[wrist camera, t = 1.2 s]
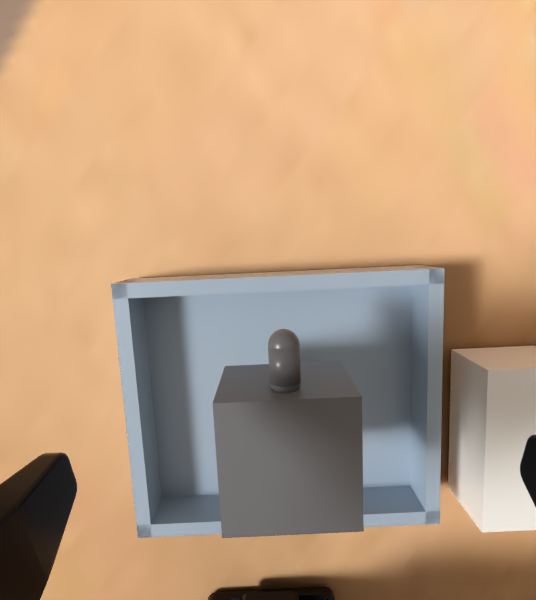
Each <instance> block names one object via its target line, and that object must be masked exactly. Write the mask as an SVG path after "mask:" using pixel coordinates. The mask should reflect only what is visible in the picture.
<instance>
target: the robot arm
mask: <svg viewBox="0 0 536 600" xmlns="http://www.w3.org/2000/svg"><path fill="white" fill-rule="evenodd" d="M520 474H521V478H522V480H523V482H524V484H525V486H526V489H527V491H528V493H529V495H530V497H531V499H532V501H533V503H534V505H535V507H536V435H531V436H530V437H529V438H528V440H527V442H526V446H525V449H524V453H523V456H522V460H521V463H520ZM76 492H77V483H76V479H75V476H74V473H73V470H72V467H71V464H70V461H69V458H68V456H67V455H66V454H65V453H45V454H42V455H40V456H39V457H37V458H36V459H35V460H33V461H32V462H30V463H29V464H28V465H26V466H25V467H23V468H22V469H21V470H19V471H18V472H17V473H15V474H14V475H12V476H11V477H10V478H8V479H7V480H6V481H4V482H3V483H1V484H0V600H40V598H41V596H42V593H43V591H44V588H45V586H46V583H47V581H48V578H49V575H50V573H51V570H52V567H53V564H54V561H55V558H56V555H57V552H58V549H59V546H60V543H61V539H62V536H63V533H64V530H65V527H66V524H67V521H68V518H69V515H70V512H71V509H72V506H73V502H74V499H75V496H76ZM325 598H326V600H335V598H334V593H333V591H332V590H331V589H330V588H327V587H315V588H293V589H272V590H251V591H229V592H215V593H212V594H211V595H210V596H209V597H208V600H322V599H325Z"/></svg>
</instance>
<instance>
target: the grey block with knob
mask: <svg viewBox="0 0 536 600" xmlns="http://www.w3.org/2000/svg"><path fill="white" fill-rule="evenodd" d="M268 359H269V364H257V365H236V366H225V367H224V370H223V373H222V376H221V379H220V382H219V385H218V388H217V391H216V394H215V397H214V400H213V418H214V432H215V446H216V460H217V474H218V488H219V502H220V517H221V531H222V538H232V537H254V536H275V535H296V534H318V533H339V532H360V531H364V525H363V438H362V396H361V394H360V392H359V391H358V389H357V388H356V386H355V385H354V383H353V381H352V380H351V378H350V377H349V375H348V373H347V372H346V370H345V369H344V367H343V366H342V364H341V362H340V361H321V362H300V343H299V339H298V337H297V335H296V334H295V333H294V332H292V331H291V330H288V329H279V330H277V331H275V332H274V333H273V334H272V335H271V336H270V338H269V341H268Z"/></svg>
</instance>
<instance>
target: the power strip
mask: <svg viewBox="0 0 536 600" xmlns="http://www.w3.org/2000/svg"><path fill="white" fill-rule="evenodd" d="M531 435H536V345H534V346H513V347H491V348H470V349H451V384H450V428H449V471H448V488H449V489H450V490H451V492H452V493H453V494H454V496H455V497H456V498H457V500H458V501H459V502H460V504H461V505H462V506H463V508H464V509H465V510H466V512H467V513H468V514H469V516H470V517H471V518H472V520H473V521H474V522H475V524H476V525H477V526H478V528H479V529H480V530H481V532H502V531H523V530H536V507H535V505H534V503H533V501H532V499H531V497H530V495H529V493H528V491H527V489H526V486H525V484H524V482H523V480H522V478H521V474H520V463H521V460H522V456H523V453H524V449H525V446H526V442H527V440H528V438H529V437H530V436H531Z"/></svg>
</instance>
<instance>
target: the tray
mask: <svg viewBox="0 0 536 600" xmlns="http://www.w3.org/2000/svg"><path fill="white" fill-rule="evenodd" d="M444 273H445V268H439V267H432V266H424V265H408V266H387V267H365V268H344V269H323V270H301V271H280V272H259V273H237V274H216V275H195V276H173V277H152V278H132V279H128V280H124V281H120V282H117V283H113V284H111V287H112V296H113V306H114V315H115V325H116V334H117V344H118V353H119V363H120V372H121V381H122V391H123V400H124V410H125V419H126V429H127V438H128V448H129V457H130V467H131V476H132V485H133V495H134V504H135V514H136V523H137V533H138V538H145V537H167V536H188V535H209V534H222V531H221V517H220V502H219V488H218V474H217V460H216V446H215V432H214V418H213V400H214V397H215V394H216V391H217V388H218V385H219V382H220V379H221V376H222V373H223V370H224V367H225V366H236V365H257V364H269V359H268V341H269V338H270V336H271V335H272V334H273V333H274V332H275V331H277V330H279V329H288V330H291V331H292V332H294V333H295V334H296V335H297V337H298V339H299V343H300V362H321V361H340V362H341V364H342V366H343V367H344V369H345V370H346V372H347V373H348V375H349V377H350V378H351V380H352V381H353V383H354V385H355V386H356V388H357V389H358V391H359V392H360V394H361V396H362V438H363V525H364V527H380V526H401V525H423V524H439V523H440V473H441V423H442V373H443V323H444Z"/></svg>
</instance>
